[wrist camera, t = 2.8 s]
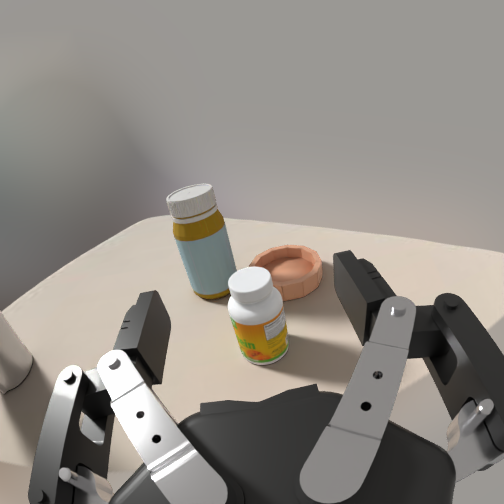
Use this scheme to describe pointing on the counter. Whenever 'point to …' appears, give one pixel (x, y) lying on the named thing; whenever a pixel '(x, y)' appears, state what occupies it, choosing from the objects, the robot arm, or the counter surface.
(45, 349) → the counter surface
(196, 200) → the bottle
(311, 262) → the terracotta dish
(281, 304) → the supplement bottle
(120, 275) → the counter surface
